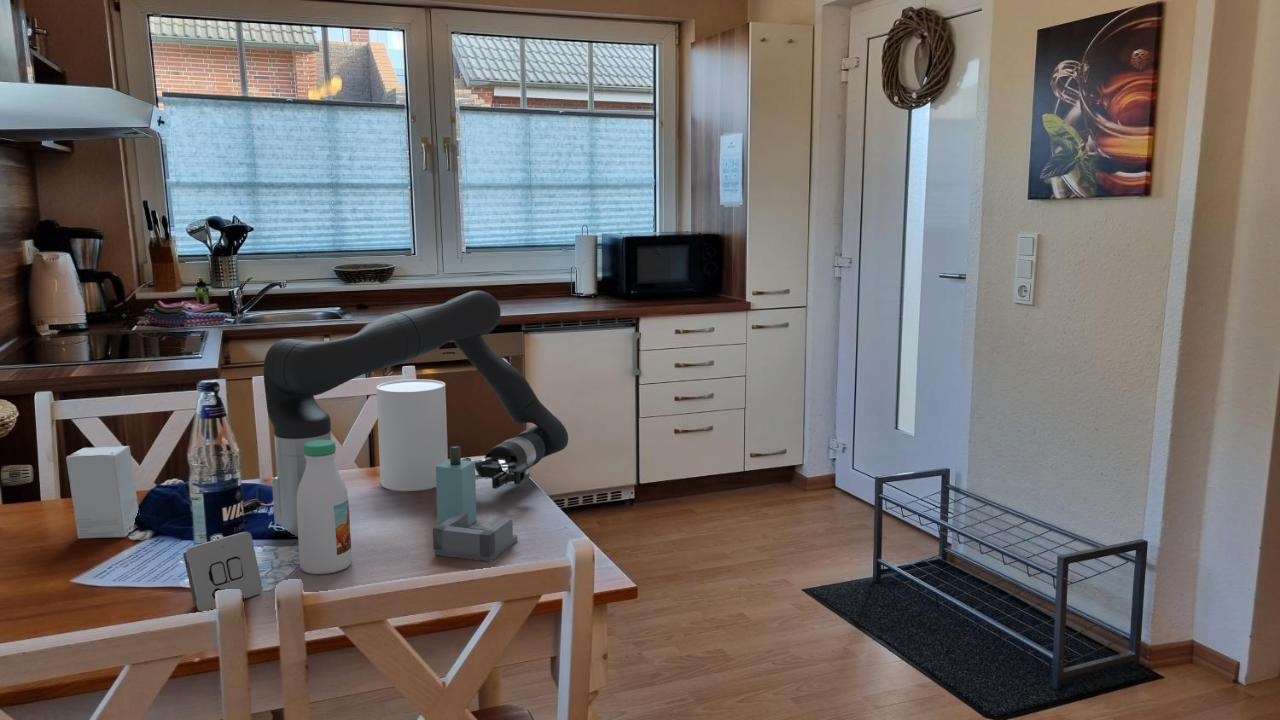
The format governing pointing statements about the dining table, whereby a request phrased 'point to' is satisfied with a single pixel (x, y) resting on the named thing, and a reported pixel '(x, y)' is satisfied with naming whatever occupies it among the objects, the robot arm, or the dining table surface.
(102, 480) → the skincare box
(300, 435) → the robot arm
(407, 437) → the canister
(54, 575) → the dining table surface
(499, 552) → the socket
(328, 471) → the milk bottle
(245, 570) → the electrical switch
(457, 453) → the plug
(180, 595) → the dining table surface
